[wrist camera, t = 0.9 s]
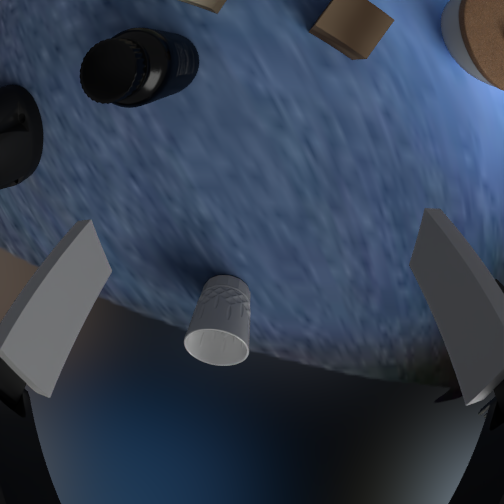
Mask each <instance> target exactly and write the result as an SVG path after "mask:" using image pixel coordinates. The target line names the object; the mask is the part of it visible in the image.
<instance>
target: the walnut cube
mask: <svg viewBox="0 0 504 504" xmlns="http://www.w3.org/2000/svg"><path fill="white" fill-rule="evenodd" d="M393 22H394V19H392V18H391V17H390V16H389V15H387V14H386V13H385V12H383V11H382V10H381V9H379V8H378V7H376V6H375V5H374V4H372V3H371V2H369V1H368V0H331V2H330V3H329V4H328V6H327V7H326V8H325V10H324V11H323V13H322V14H321V15H320V17H319V18H318V19H317V21H316V22H315V24H314V25H313V26H312V28H311V29H310V31H309V33H311V34H313V35H314V36H316V37H318V38H319V39H321V40H323V41H324V42H326V43H328V44H329V45H331V46H332V47H334V48H335V49H337V50H338V51H340V52H341V53H343V54H344V55H346V56H347V57H349V58H350V59H352V60H356V59H367V58H368V56H369V55H370V53H371V52H372V51H373V49H374V48H375V46H376V45H377V44H378V42H379V41H380V39H381V38H382V37H383V35H384V34H385V33H386V31H387V30H388V28H389V27H390V26H391V24H392V23H393Z"/></svg>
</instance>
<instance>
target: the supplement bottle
mask: <svg viewBox="0 0 504 504" xmlns="http://www.w3.org/2000/svg"><path fill="white" fill-rule="evenodd" d="M198 68H199V55H198V52H197V49H196V47H195V46H194V45H193V43H192V42H191V41H190V40H188V39H187V38H185V37H183V36H181V35H178V34H174V33H169V32H165V31H160V30H154V29H149V28H131V29H127V30H124V31H122V32H120V33H118V34H117V35H115V36H114V37H112V38H111V39H106V40H103V41H100V42H99V43H97V44H95V45H94V47H92V48H91V49H90V50H89V52H87V54H86V56H85V57H84V58H83V62H82V64H81V69H80V83H81V84H82V89H83V90H84V93H86V94H87V96H88V97H89V98H91V99H92V100H95V101H96V102H97V103H98V102H100V103H102V104H104V103H107V104H109V103H113V104H115V105H117V106H120V107H127V108H133V107H138V106H142V105H145V104H148V103H151V102H153V101H156V100H158V99H161V98H164V97H167V96H170V95H172V94H175V93H178V92H180V91H181V90H183V89H185V88H186V87H187V86H188V85H189V84H190V83H191V82H192V81H193V79H194V78H195V76H196V74H197V71H198Z"/></svg>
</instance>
